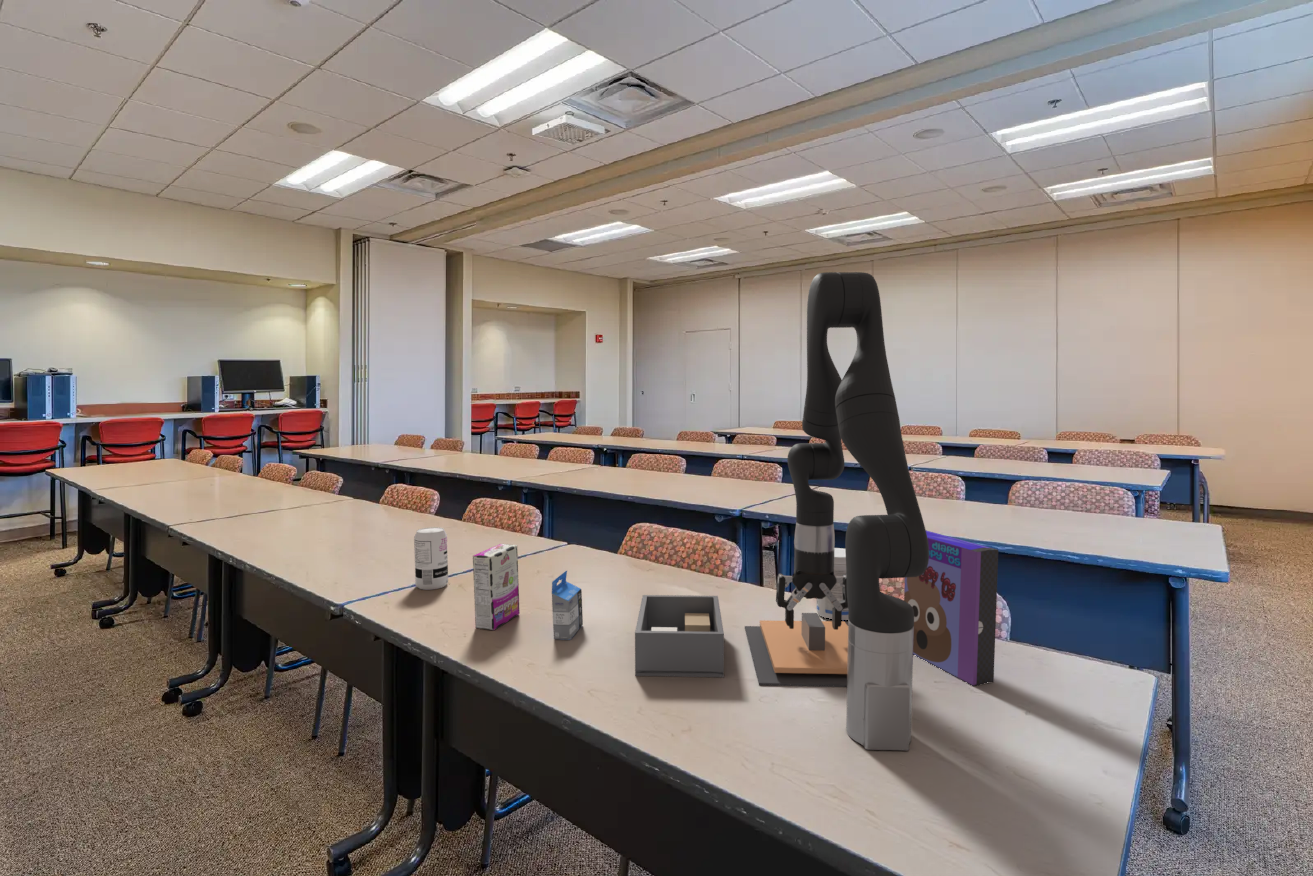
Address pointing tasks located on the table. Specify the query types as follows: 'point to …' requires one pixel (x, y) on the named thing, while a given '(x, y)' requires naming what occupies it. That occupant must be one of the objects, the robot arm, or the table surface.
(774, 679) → the rubber mat
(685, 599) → the storage box
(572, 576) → the table surface
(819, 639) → the lid
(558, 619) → the label tape box
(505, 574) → the candy bar box
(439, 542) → the supplement can
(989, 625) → the cereal box
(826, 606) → the supplement tub
